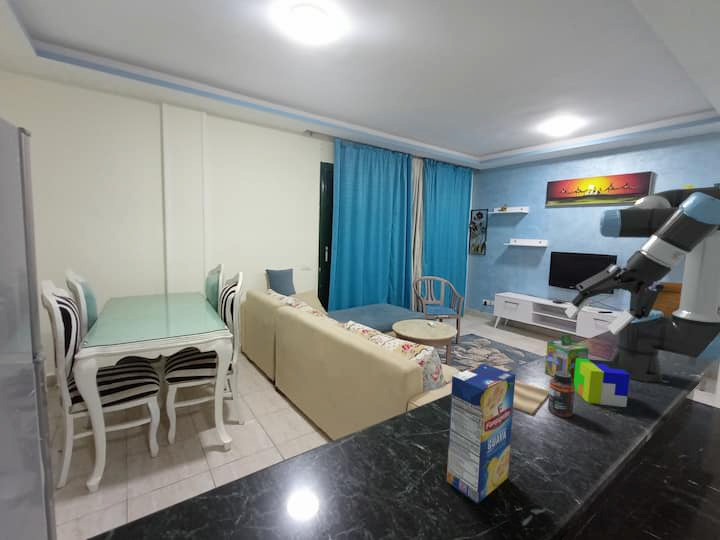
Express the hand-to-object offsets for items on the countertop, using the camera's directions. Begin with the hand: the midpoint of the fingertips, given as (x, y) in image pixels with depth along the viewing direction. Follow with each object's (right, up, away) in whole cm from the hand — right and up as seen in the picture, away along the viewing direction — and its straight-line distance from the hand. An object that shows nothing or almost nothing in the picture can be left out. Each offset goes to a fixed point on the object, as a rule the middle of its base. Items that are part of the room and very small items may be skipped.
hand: (589, 323), depth 86 cm
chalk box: (+11, -24, +29) cm, 39 cm away
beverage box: (-37, -28, -20) cm, 51 cm away
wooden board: (-11, -25, +14) cm, 31 cm away
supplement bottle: (-5, -26, +6) cm, 27 cm away
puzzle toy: (+13, -25, +15) cm, 32 cm away
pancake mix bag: (+88, -20, +74) cm, 117 cm away
